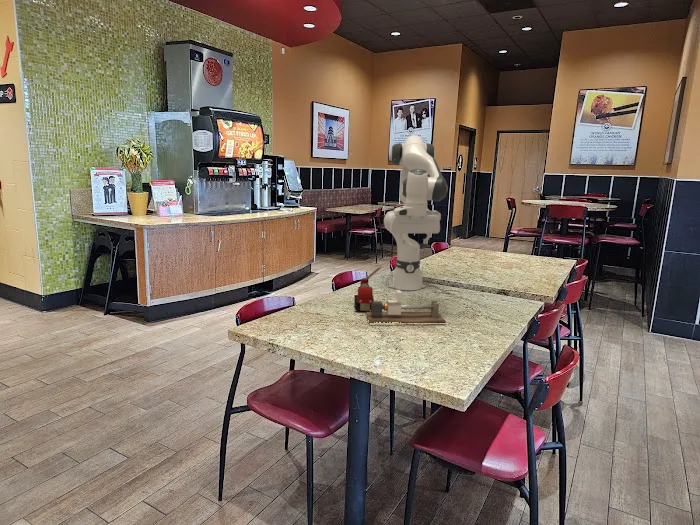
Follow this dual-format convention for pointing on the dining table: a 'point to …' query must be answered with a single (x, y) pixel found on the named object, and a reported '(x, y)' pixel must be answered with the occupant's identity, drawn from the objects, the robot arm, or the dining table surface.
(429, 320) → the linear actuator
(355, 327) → the dining table surface
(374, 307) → the rod
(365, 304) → the toy fire truck
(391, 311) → the sleeve
